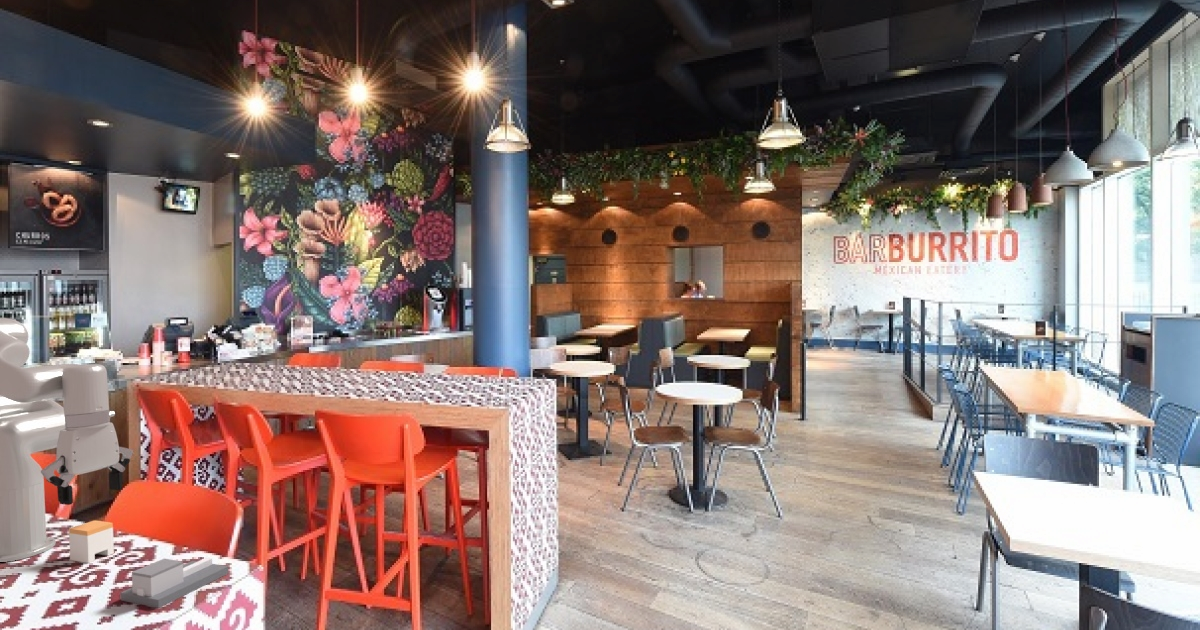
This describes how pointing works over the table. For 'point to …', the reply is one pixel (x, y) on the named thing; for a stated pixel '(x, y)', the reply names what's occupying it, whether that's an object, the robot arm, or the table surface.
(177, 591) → the rail board
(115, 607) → the table surface
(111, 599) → the table surface
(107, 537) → the block
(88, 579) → the table surface
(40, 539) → the robot arm
